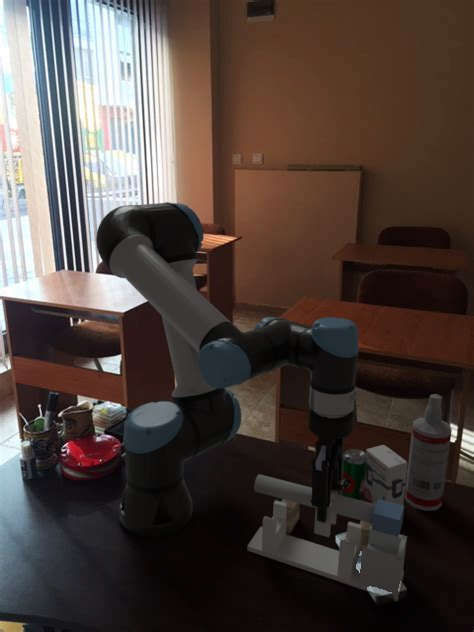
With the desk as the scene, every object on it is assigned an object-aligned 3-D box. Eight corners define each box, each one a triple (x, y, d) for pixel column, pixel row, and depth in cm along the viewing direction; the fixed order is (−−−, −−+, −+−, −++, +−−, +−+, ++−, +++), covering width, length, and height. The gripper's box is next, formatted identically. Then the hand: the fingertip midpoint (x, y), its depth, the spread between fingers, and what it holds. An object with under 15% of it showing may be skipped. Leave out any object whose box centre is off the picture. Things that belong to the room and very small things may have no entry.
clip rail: (246, 551, 103) (247, 514, 100) (260, 529, 108) (261, 494, 106) (397, 602, 91) (401, 561, 89) (403, 575, 97) (408, 536, 95)
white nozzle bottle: (443, 513, 114) (458, 405, 107) (407, 508, 116) (419, 402, 109) (437, 491, 122) (450, 389, 115) (403, 487, 123) (414, 387, 116)
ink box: (360, 494, 120) (364, 447, 117) (379, 489, 122) (383, 443, 119) (384, 517, 113) (389, 467, 110) (403, 511, 115) (409, 462, 112)
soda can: (363, 511, 115) (367, 461, 111) (339, 508, 116) (342, 458, 112) (362, 497, 119) (367, 449, 116) (339, 494, 120) (343, 446, 117)
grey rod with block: (252, 496, 100) (253, 481, 99) (262, 484, 104) (262, 469, 103) (398, 537, 89) (400, 520, 88) (402, 521, 93) (404, 505, 92)
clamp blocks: (275, 530, 109) (276, 503, 107) (285, 514, 113) (286, 488, 112) (370, 559, 101) (372, 531, 99) (376, 541, 106) (378, 514, 104)
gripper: (340, 434, 83) (333, 562, 89) (364, 395, 97) (356, 508, 103) (294, 424, 86) (290, 549, 92) (323, 388, 100) (318, 498, 106)
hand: (325, 527), depth 98 cm, fingers closed on grey rod with block, 3 cm apart
